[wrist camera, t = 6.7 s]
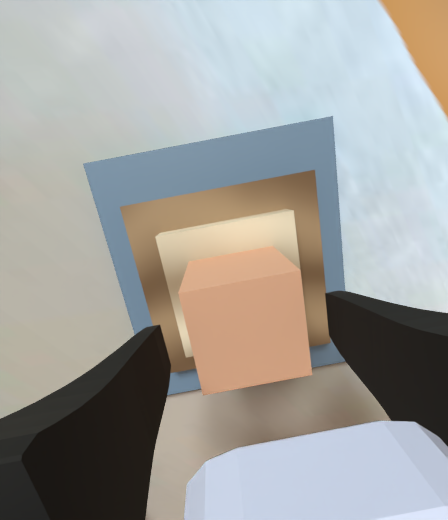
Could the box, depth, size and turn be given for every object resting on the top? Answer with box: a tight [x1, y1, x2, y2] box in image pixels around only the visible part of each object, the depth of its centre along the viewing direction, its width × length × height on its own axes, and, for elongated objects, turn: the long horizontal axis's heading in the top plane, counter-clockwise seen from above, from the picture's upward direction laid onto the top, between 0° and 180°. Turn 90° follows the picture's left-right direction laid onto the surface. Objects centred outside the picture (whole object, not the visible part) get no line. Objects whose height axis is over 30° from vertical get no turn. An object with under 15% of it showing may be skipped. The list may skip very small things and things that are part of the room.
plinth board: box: [83, 116, 345, 395], centre depth 18 cm, size 18×16×4 cm
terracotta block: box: [178, 246, 312, 395], centre depth 14 cm, size 5×5×5 cm
